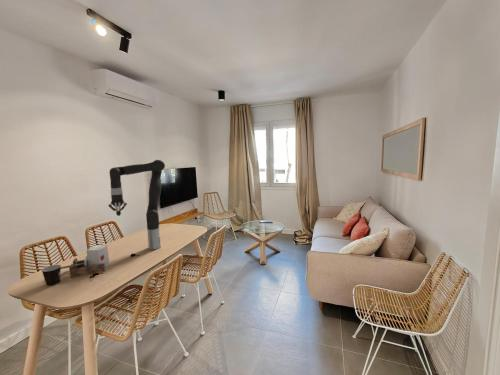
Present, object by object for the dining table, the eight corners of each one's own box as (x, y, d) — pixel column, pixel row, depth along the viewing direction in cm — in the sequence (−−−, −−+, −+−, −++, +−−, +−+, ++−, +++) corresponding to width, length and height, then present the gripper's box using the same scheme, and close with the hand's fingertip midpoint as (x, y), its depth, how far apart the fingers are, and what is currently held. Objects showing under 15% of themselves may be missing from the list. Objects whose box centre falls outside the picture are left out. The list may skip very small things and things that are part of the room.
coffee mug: (51, 279, 139) (49, 264, 137) (66, 279, 139) (64, 264, 138) (35, 290, 127) (33, 274, 126) (51, 289, 128) (49, 273, 127)
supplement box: (100, 271, 149) (98, 250, 147) (88, 270, 150) (85, 250, 148) (109, 264, 158) (108, 244, 156) (98, 264, 159) (96, 244, 157)
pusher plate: (90, 265, 156) (88, 255, 154) (87, 272, 146) (86, 261, 145) (58, 272, 147) (56, 260, 146) (53, 279, 138) (51, 267, 137)
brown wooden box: (106, 262, 162) (106, 253, 161) (104, 271, 149) (103, 261, 148) (75, 268, 153) (74, 258, 153) (70, 278, 140) (69, 267, 139)
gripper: (126, 192, 175) (128, 213, 177) (107, 193, 168) (109, 215, 171) (126, 193, 168) (128, 215, 170) (106, 195, 162) (108, 217, 164)
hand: (118, 215), depth 171 cm, fingers closed
